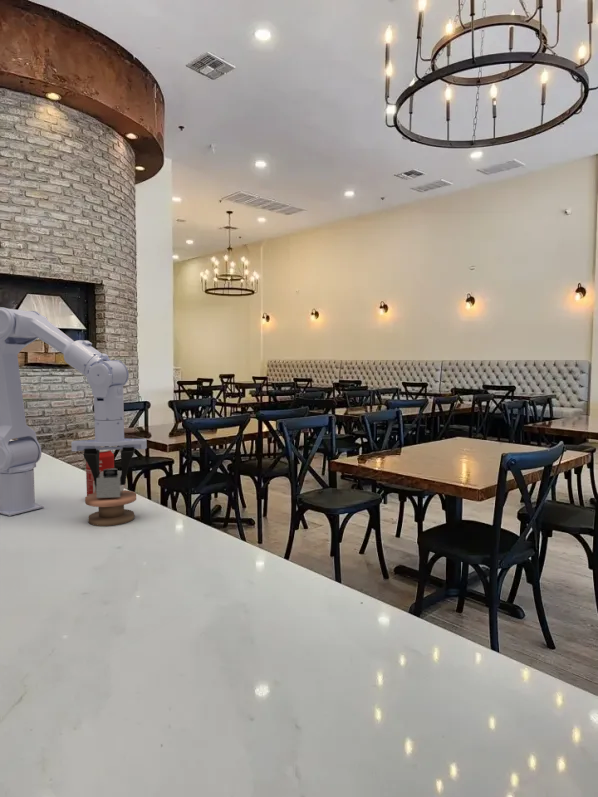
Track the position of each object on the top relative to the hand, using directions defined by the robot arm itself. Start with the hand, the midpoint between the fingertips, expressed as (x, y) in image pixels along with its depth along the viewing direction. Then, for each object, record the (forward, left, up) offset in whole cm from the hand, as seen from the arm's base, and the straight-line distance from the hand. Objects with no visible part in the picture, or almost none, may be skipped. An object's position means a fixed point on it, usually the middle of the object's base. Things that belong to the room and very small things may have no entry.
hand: (110, 484), depth 112 cm
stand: (0, 0, -7) cm, 7 cm away
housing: (0, 0, -2) cm, 2 cm away
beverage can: (-16, +10, -8) cm, 20 cm away
